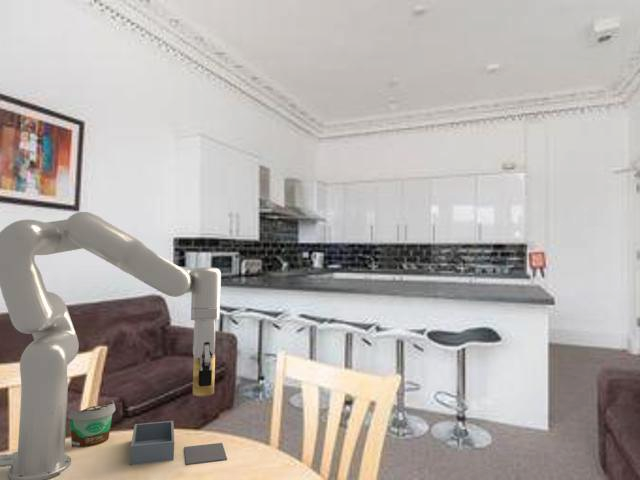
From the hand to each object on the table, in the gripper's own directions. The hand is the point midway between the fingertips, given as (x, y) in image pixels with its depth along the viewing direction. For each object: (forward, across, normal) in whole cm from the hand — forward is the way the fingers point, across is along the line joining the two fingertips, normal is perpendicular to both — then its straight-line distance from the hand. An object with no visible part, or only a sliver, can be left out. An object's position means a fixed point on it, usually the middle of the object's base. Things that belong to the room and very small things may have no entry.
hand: (203, 381), depth 114 cm
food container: (+19, -15, -27) cm, 36 cm away
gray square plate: (+19, +1, +1) cm, 19 cm away
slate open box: (+19, -6, -12) cm, 23 cm away
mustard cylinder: (+3, 0, 0) cm, 3 cm away
